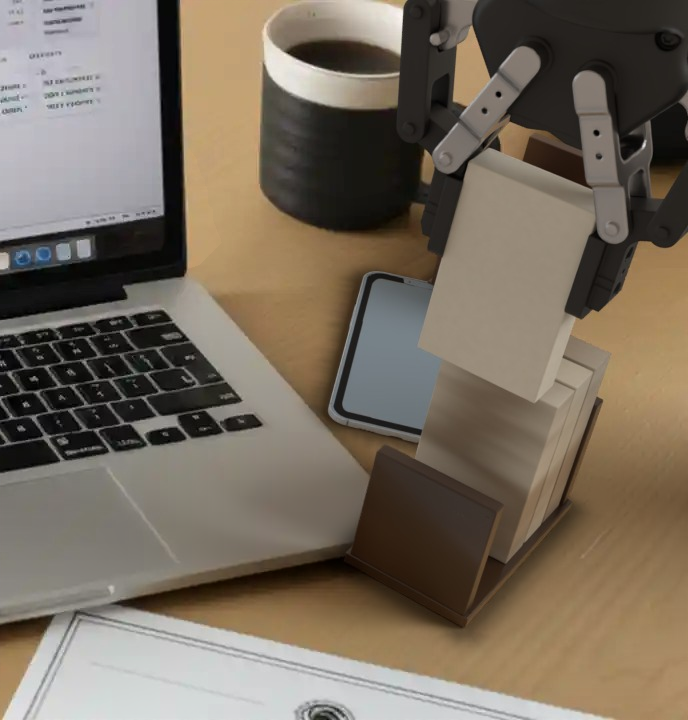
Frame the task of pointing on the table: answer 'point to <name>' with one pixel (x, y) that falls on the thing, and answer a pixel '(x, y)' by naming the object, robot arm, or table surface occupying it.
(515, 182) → the beige rectangular block
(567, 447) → the brown book rack
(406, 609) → the table surface
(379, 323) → the smartphone
